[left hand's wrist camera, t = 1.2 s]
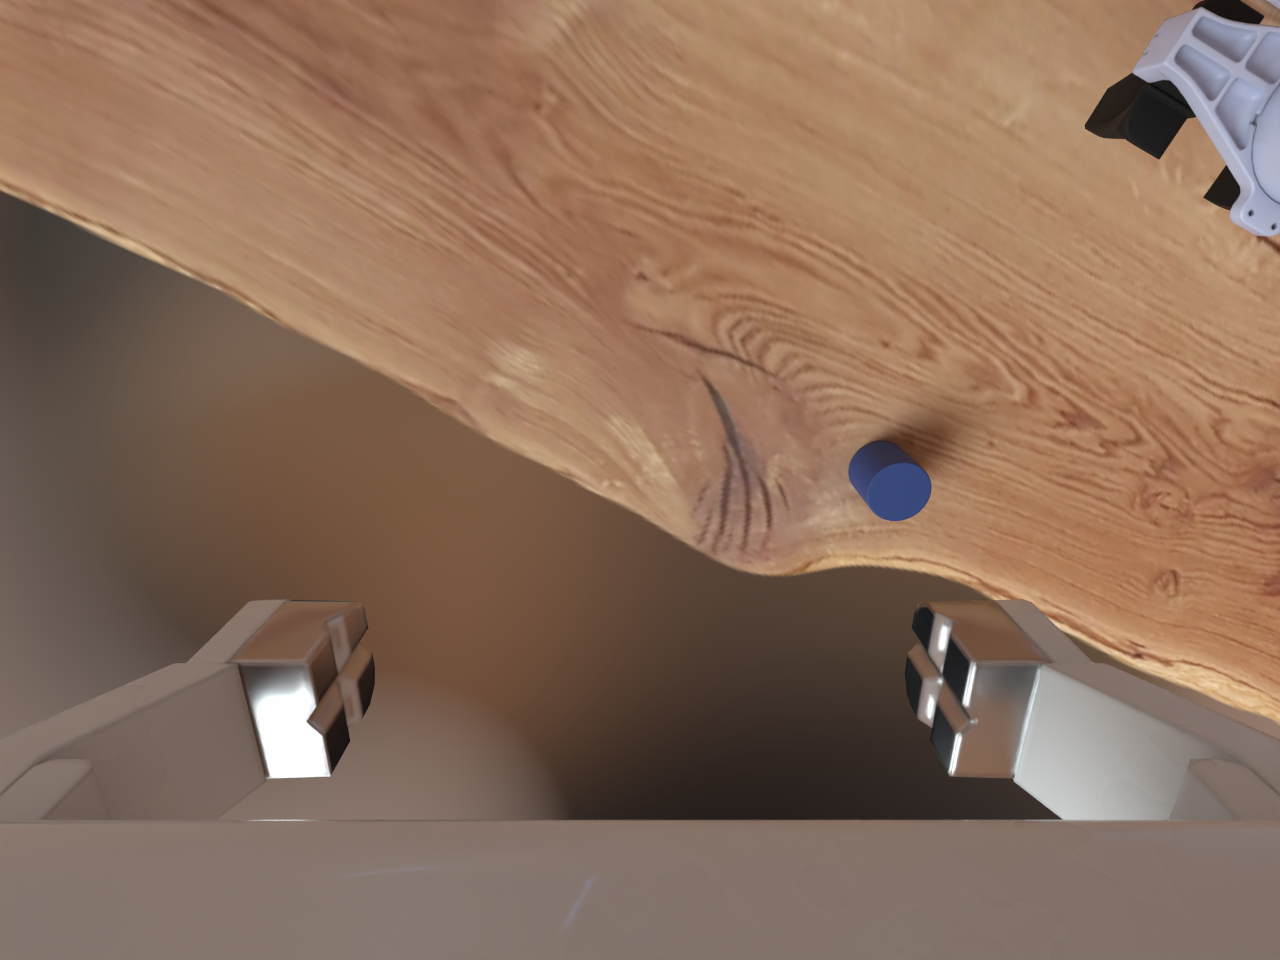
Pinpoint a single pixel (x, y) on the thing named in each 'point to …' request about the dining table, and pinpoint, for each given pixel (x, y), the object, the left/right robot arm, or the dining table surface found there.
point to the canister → (889, 481)
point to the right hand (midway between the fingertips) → (1162, 146)
